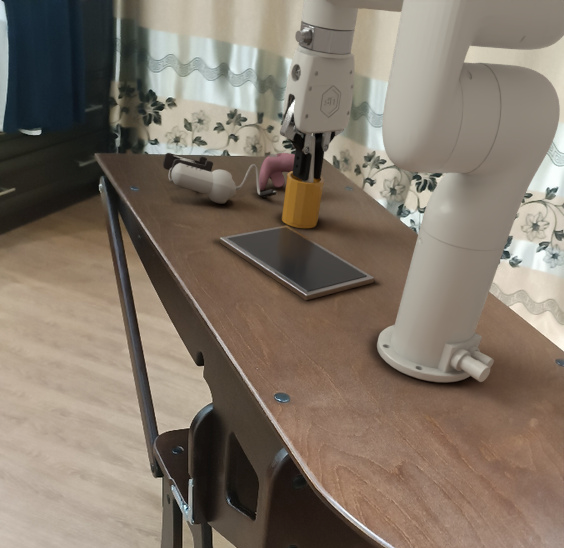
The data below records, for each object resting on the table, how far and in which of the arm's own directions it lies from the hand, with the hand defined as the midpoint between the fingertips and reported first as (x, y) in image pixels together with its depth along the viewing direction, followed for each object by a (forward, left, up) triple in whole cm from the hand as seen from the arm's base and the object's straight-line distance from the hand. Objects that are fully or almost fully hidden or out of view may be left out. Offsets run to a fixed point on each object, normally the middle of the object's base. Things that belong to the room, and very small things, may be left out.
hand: (306, 176), depth 112 cm
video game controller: (+12, -7, -7) cm, 16 cm away
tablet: (-12, +11, -7) cm, 18 cm away
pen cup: (0, 0, -7) cm, 7 cm away
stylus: (-1, 0, -5) cm, 5 cm away
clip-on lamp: (+14, +6, -7) cm, 17 cm away
